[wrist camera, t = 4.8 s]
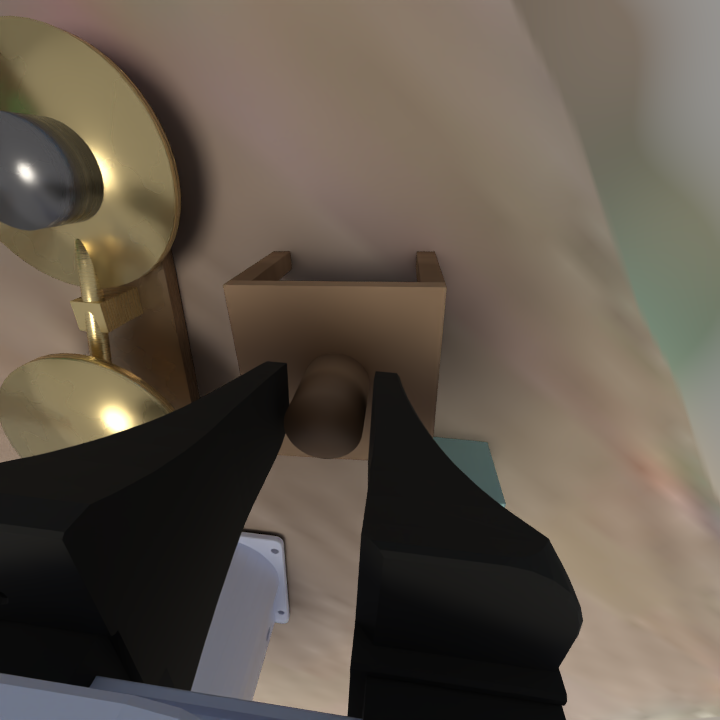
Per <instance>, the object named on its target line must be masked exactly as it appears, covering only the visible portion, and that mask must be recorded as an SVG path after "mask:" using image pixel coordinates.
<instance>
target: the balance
mask: <svg viewBox="0 0 720 720" xmlns="http://www.w3.org/2000/svg"><path fill="white" fill-rule="evenodd" d="M180 213H181V191H180V182H179V176H178V171H177V167H176V162H175V159H174V156H173V153H172V150H171V147H170V144H169V141H168V139H167V137H166V135H165V132H164V130H163V128H162V126H161V124H160V122H159V120H158V118H157V117H156V115H155V113H154V111H153V109H152V108H151V106H150V105H149V103H148V102H147V100H146V99H145V98H144V96H143V95H142V93H141V92H140V90H139V89H138V88H137V87H136V86H135V84H134V83H133V82H132V81H131V80H130V79H129V77H128V76H127V75H126V74H125V73H124V72H123V71H122V70H121V69H120V68H119V67H118V66H117V65H116V64H115V63H114V62H113V61H112V60H111V59H109V58H108V57H107V56H105V55H104V54H103V53H102V52H100V51H99V50H98V49H96V48H95V47H94V46H92V45H91V44H89V43H87V42H86V41H84V40H82V39H81V38H79V37H77V36H75V35H73V34H71V33H68V32H66V31H64V30H62V29H59V28H57V27H54V26H52V25H49V24H47V23H44V22H40V21H37V20H33V19H30V18H24V17H15V16H2V17H0V241H1V242H2V243H3V244H4V245H5V246H6V247H8V248H9V249H10V250H11V251H12V252H13V253H15V254H16V255H17V256H19V257H20V258H21V259H22V260H24V261H25V262H27V263H28V264H30V265H31V266H33V267H34V268H36V269H38V270H39V271H41V272H43V273H45V274H47V275H49V276H51V277H53V278H56V279H58V280H61V281H63V282H66V283H69V284H73V285H77V286H80V288H81V296H82V297H79V298H77V299H75V300H72V301H70V303H71V306H72V309H73V312H74V315H75V318H76V321H77V323H78V326H79V329H80V330H81V331H87V338H88V345H89V352H90V356H86V355H80V354H68V353H60V354H50V355H46V356H42V357H39V358H37V359H34V360H32V361H30V362H28V363H26V364H24V365H23V366H21V367H19V368H17V369H16V370H14V371H13V372H12V373H10V375H9V376H8V377H7V378H6V379H5V380H4V382H3V384H2V386H1V388H0V421H1V425H2V427H3V430H4V432H5V434H6V436H7V438H8V440H9V441H10V443H11V445H12V446H13V448H14V449H15V450H16V452H17V453H18V454H19V456H20V457H21V458H26V457H30V456H35V455H39V454H44V453H48V452H52V451H56V450H60V449H64V448H67V447H71V446H75V445H79V444H82V443H86V442H89V441H93V440H96V439H99V438H103V437H106V436H109V435H112V434H115V433H118V432H120V431H123V430H126V429H129V428H132V427H135V426H138V425H141V424H144V423H146V422H149V421H152V420H154V419H156V418H159V417H161V416H164V415H166V414H168V413H171V412H173V411H175V410H177V409H180V408H182V407H184V406H186V405H188V404H190V403H192V402H194V401H196V400H198V399H200V397H199V392H198V387H197V381H196V376H195V371H194V366H193V360H192V355H191V350H190V345H189V339H188V334H187V329H186V324H185V319H184V313H183V308H182V303H181V298H180V292H179V287H178V282H177V277H176V271H175V266H174V261H173V256H172V251H171V246H172V244H173V242H174V240H175V237H176V233H177V230H178V226H179V220H180Z"/></svg>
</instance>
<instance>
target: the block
mask: <svg viewBox="0 0 720 720" xmlns="http://www.w3.org/2000/svg"><path fill="white" fill-rule="evenodd" d="M433 439H434V440H435V441H436V443H437V444H438V445H439V447H440V448H441V449H442V450H443V451H444V453H445V454H446V455H447V456H448V457H449V458H450V459H451V460H452V462H453V463H454V464H455V465H456V466H457V467H458V468H459V469H460V470H461V471H462V472H463V473H465V474H466V475H467V476H468V477H469V478H470V479H471V480H472V481H473V482H474V483H475V484H476V485H477V486H478V487H480V488H481V489H482V490H483V491H484V492H486V493H487V494H488V495H489V496H490V497H492V498H493V499H494V500H495V501H497V502H498V503H499V504H500V505H502V506H503V507H504V508H505V505H506V503H505V500H504V497H503V493H502V490H501V487H500V483H499V480H498V477H497V473H496V470H495V467H494V463H493V460H492V457H491V453H490V450H489V447H488V443H487V442H480V441H470V440H460V439H450V438H440V437H433Z"/></svg>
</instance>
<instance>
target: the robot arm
mask: <svg viewBox="0 0 720 720" xmlns="http://www.w3.org/2000/svg"><path fill="white" fill-rule="evenodd" d="M288 407H289V389H288V370H287V363H282V362H271V361H267V362H265V363H262V364H260V365H259V366H257V367H255V368H253V369H252V370H250V371H248V372H246V373H245V374H243V375H241V376H240V377H238V378H236V379H234V380H233V381H231V382H229V383H228V384H226V385H224V386H222V387H221V388H219V389H217V390H215V391H213V392H211V393H209V394H207V395H205V396H204V397H202V398H200V399H198V400H196V401H194V402H192V403H190V404H188V405H186V406H184V407H182V408H180V409H177V410H175V411H173V412H171V413H168V414H166V415H164V416H161V417H159V418H156V419H154V420H152V421H149V422H146V423H144V424H141V425H138V426H135V427H132V428H129V429H126V430H123V431H120V432H118V433H115V434H112V435H109V436H106V437H103V438H99V439H96V440H93V441H89V442H86V443H82V444H79V445H75V446H71V447H67V448H64V449H60V450H56V451H52V452H48V453H44V454H39V455H35V456H30V457H26V458H21V459H16V460H11V461H6V462H2V463H0V720H566V718H565V715H564V711H563V708H562V705H563V706H564V705H565V704H566V702H567V693H566V690H565V687H564V684H563V680H562V677H561V674H560V671H559V666H560V664H561V663H562V661H563V659H564V658H565V656H566V654H567V653H568V651H569V649H570V648H571V646H572V644H573V643H574V641H575V639H576V638H577V636H578V634H579V631H580V628H581V625H582V622H583V618H582V612H581V607H580V604H579V602H578V599H577V597H576V594H575V591H574V589H573V586H572V584H571V582H570V579H569V577H568V575H567V573H566V571H565V569H564V567H563V565H562V563H561V561H560V559H559V557H558V556H557V554H556V552H555V550H554V548H553V546H552V544H551V542H550V540H549V539H548V538H547V537H546V536H544V535H543V534H541V533H540V532H538V531H537V530H535V529H534V528H533V527H531V526H530V525H528V524H527V523H525V522H524V521H523V520H521V519H520V518H518V517H517V516H515V515H514V514H512V513H511V512H510V511H508V510H507V509H505V508H504V507H503V506H502V505H500V504H499V503H498V502H497V501H495V500H494V499H493V498H492V497H490V496H489V495H488V494H487V493H486V492H484V491H483V490H482V489H481V488H480V487H478V486H477V485H476V484H475V483H474V482H473V481H472V480H471V479H470V478H469V477H468V476H467V475H466V474H465V473H463V472H462V471H461V470H460V469H459V468H458V467H457V466H456V465H455V464H454V463H453V462H452V460H451V459H450V458H449V457H448V456H447V455H446V454H445V453H444V451H443V450H442V449H441V448H440V447H439V445H438V444H437V443H436V441H435V440H434V439H433V438H432V436H431V435H430V433H429V432H428V430H427V429H426V428H425V426H424V425H423V423H422V422H421V420H420V418H419V417H418V415H417V413H416V412H415V410H414V408H413V406H412V405H411V403H410V401H409V399H408V397H407V395H406V393H405V390H404V388H403V386H402V383H401V380H400V377H399V375H398V374H397V373H391V372H380V371H376V372H375V377H374V383H373V397H372V411H371V425H370V439H369V453H368V492H367V499H366V506H365V513H364V520H363V527H362V533H361V547H360V562H359V576H358V591H357V605H356V620H355V629H354V638H353V647H352V656H351V666H350V687H349V702H348V716H341V715H335V714H329V713H323V712H317V711H311V710H304V709H298V708H292V707H286V706H280V705H274V704H267V703H261V702H255V701H252V700H253V696H254V693H255V689H256V686H257V682H258V679H259V675H260V672H261V668H262V665H263V661H264V658H265V654H266V651H267V647H268V644H269V640H270V637H271V633H272V630H273V626H274V623H275V622H276V623H287V622H288V620H289V617H290V615H289V602H288V590H287V578H286V565H285V553H284V542H283V540H282V539H281V538H280V537H278V536H271V535H264V534H256V533H248V532H242V530H243V528H244V525H245V522H246V520H247V518H248V515H249V513H250V511H251V508H252V506H253V504H254V502H255V500H256V498H257V496H258V494H259V492H260V490H261V488H262V486H263V484H264V482H265V480H266V477H267V475H268V473H269V471H270V469H271V467H272V465H273V463H274V461H275V459H276V457H277V454H278V452H279V450H280V448H281V446H282V443H283V440H284V437H285V434H286V432H285V429H284V416H285V413H286V411H287V409H288Z"/></svg>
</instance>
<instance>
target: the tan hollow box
mask: <svg viewBox="0 0 720 720" xmlns="http://www.w3.org/2000/svg"><path fill="white" fill-rule="evenodd" d="M291 269H292V264H291V255H290V251H274V252H272V253H271V254H269V255H268V256H266V257H265V258H263V259H262V260H260V261H258V262H257V263H255V264H254V265H252V266H251V267H249V268H248V269H246V270H245V271H243V272H242V273H240V274H239V275H237V276H236V277H234V278H233V279H231V280H230V281H228V282H227V283H225V284H224V285H223V288H224V293H225V298H226V303H227V308H228V313H229V318H230V324H231V329H232V334H233V339H234V344H235V349H236V354H237V359H238V364H239V369H240V375H243V374H245V373H246V372H248V371H250V370H252V369H253V368H255V367H257V366H259V365H260V364H262V363H265V362H267V361H271V362H282V363H287V370H288V389H289V407H288V409H287V411H286V413H285V416H284V429H285V432H286V434H285V437H284V440H283V443H282V446H281V448H280V450H279V452H278V454H277V455H285V456H302V457H317V458H323V459H334V458H335V459H352V460H368V453H369V439H370V425H371V411H372V397H373V383H374V377H375V372H376V371H380V372H391V373H397V374H398V375H399V377H400V380H401V383H402V386H403V388H404V390H405V393H406V395H407V397H408V399H409V401H410V403H411V405H412V406H413V408H414V410H415V412H416V413H417V415H418V417H419V418H420V420H421V422H422V423H423V425H424V426H425V428H426V429H427V430H428V432H429V433H430V435H431V436H432V438H433V434H434V423H435V412H436V400H437V389H438V378H439V367H440V356H441V345H442V334H443V323H444V311H445V300H446V289H447V287H446V284H445V281H444V278H443V275H442V272H441V269H440V266H439V263H438V260H437V257H436V254H435V252H417V257H416V275H417V282H348V281H279V280H280V279H281V278H282V277H283V276H284V275H285V274H286V273H287V272H288V271H290V270H291Z"/></svg>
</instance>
